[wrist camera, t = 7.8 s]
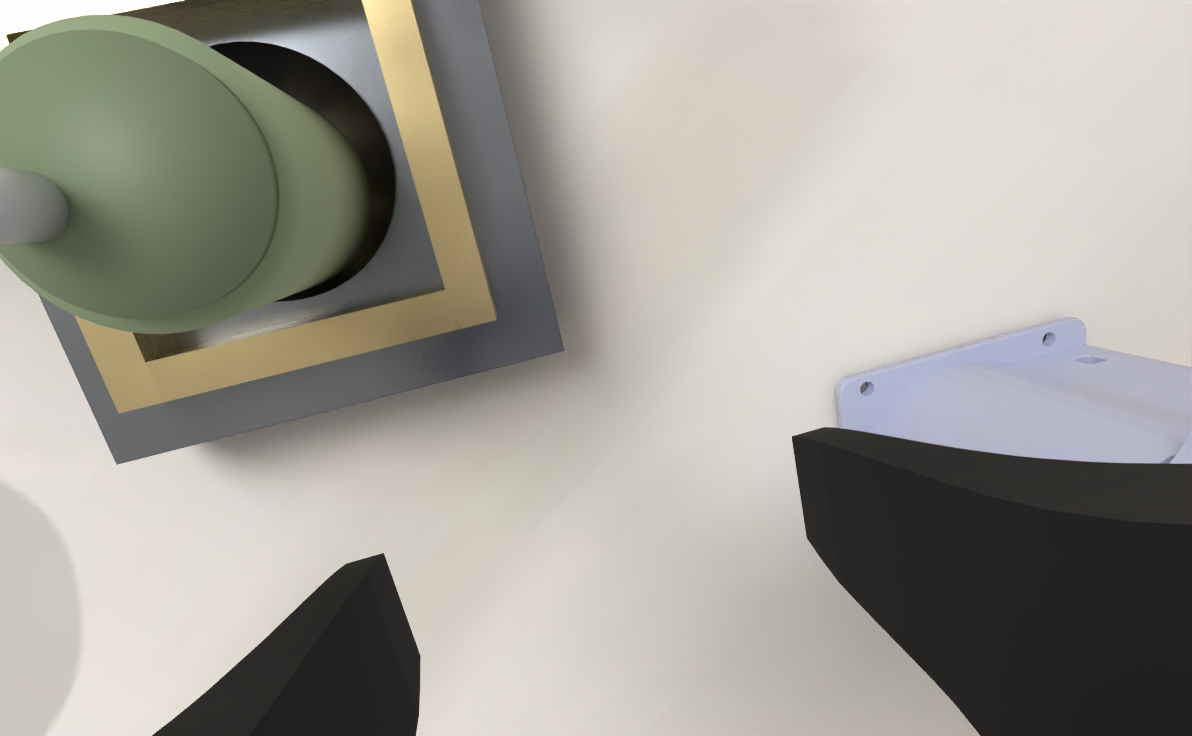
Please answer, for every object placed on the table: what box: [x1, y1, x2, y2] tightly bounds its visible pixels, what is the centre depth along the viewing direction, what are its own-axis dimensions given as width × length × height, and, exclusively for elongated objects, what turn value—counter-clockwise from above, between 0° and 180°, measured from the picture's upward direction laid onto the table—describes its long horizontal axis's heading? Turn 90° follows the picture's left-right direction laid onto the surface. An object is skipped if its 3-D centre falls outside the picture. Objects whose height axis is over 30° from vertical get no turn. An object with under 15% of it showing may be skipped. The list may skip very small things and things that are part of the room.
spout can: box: [0, 14, 372, 334], centre depth 11 cm, size 5×5×8 cm
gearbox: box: [0, 0, 564, 464], centre depth 16 cm, size 15×12×4 cm
